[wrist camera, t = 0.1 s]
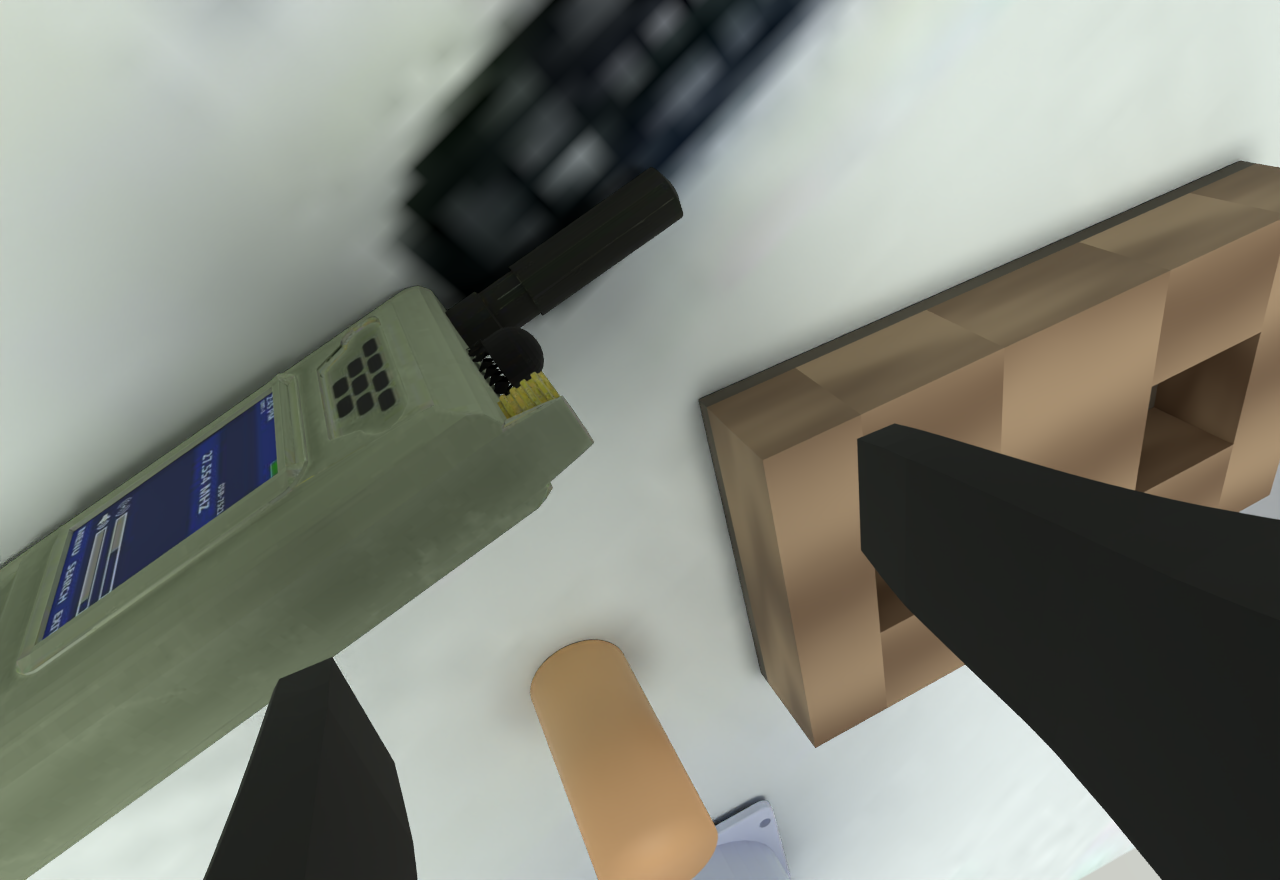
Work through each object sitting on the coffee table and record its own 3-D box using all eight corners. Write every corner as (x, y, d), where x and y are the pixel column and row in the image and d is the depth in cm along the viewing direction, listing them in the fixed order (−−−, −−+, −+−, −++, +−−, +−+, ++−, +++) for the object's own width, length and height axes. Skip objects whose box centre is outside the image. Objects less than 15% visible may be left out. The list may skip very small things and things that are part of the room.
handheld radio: (-366, 793, 16) (613, 108, 17) (-191, 845, 18) (674, 229, 19) (-651, 1191, 11) (773, 176, 12) (-362, 1200, 13) (832, 332, 14)
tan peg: (636, 687, 26) (727, 861, 21) (547, 732, 26) (619, 923, 20) (612, 623, 24) (705, 796, 19) (516, 670, 24) (586, 861, 19)
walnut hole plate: (1182, 450, 32) (1269, 494, 30) (761, 673, 28) (815, 747, 26) (1240, 160, 26) (1360, 181, 23) (698, 399, 22) (762, 460, 19)
